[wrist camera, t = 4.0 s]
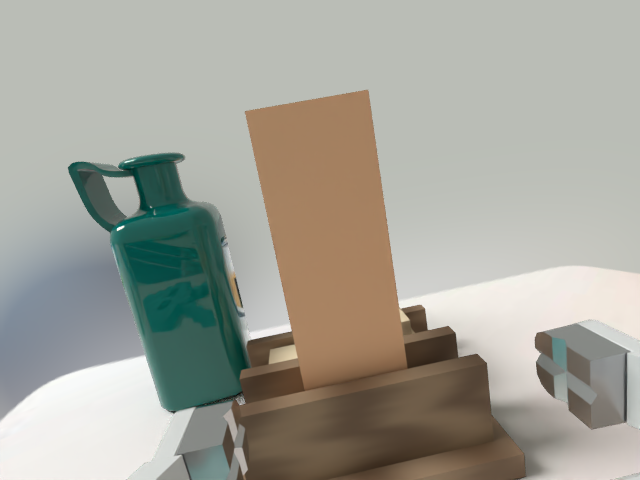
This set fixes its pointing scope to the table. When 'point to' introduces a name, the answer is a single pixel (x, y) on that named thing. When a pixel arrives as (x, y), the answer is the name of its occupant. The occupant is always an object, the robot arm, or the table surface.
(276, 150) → the panel
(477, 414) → the rack
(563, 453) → the table surface
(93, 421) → the table surface
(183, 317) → the pitcher
